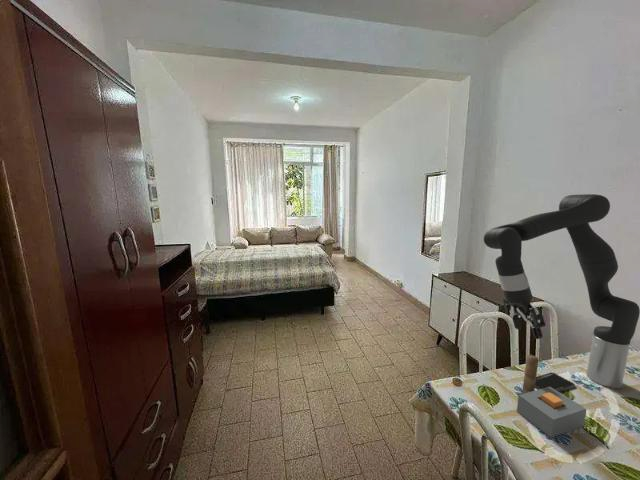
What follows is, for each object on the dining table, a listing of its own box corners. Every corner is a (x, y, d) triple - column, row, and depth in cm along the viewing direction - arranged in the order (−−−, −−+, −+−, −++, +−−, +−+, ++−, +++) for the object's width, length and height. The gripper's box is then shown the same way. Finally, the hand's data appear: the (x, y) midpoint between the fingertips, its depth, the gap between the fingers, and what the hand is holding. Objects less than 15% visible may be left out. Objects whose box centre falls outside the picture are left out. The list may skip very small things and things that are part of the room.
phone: (526, 380, 99) (552, 372, 104) (525, 382, 99) (551, 374, 104) (549, 394, 92) (576, 385, 96) (549, 397, 92) (576, 387, 97)
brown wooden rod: (526, 389, 95) (531, 354, 93) (535, 395, 92) (540, 359, 90) (520, 391, 94) (524, 355, 92) (529, 397, 91) (534, 360, 89)
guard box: (547, 402, 89) (549, 386, 88) (583, 426, 80) (586, 408, 79) (516, 411, 85) (518, 395, 84) (550, 437, 76) (553, 419, 75)
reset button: (548, 403, 84) (549, 392, 84) (561, 411, 81) (562, 400, 80) (540, 405, 83) (541, 394, 83) (552, 414, 80) (554, 402, 79)
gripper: (544, 287, 79) (558, 338, 79) (511, 279, 93) (523, 322, 93) (519, 294, 79) (533, 345, 79) (490, 285, 93) (502, 328, 93)
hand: (528, 332), depth 86 cm, fingers open, 8 cm apart
